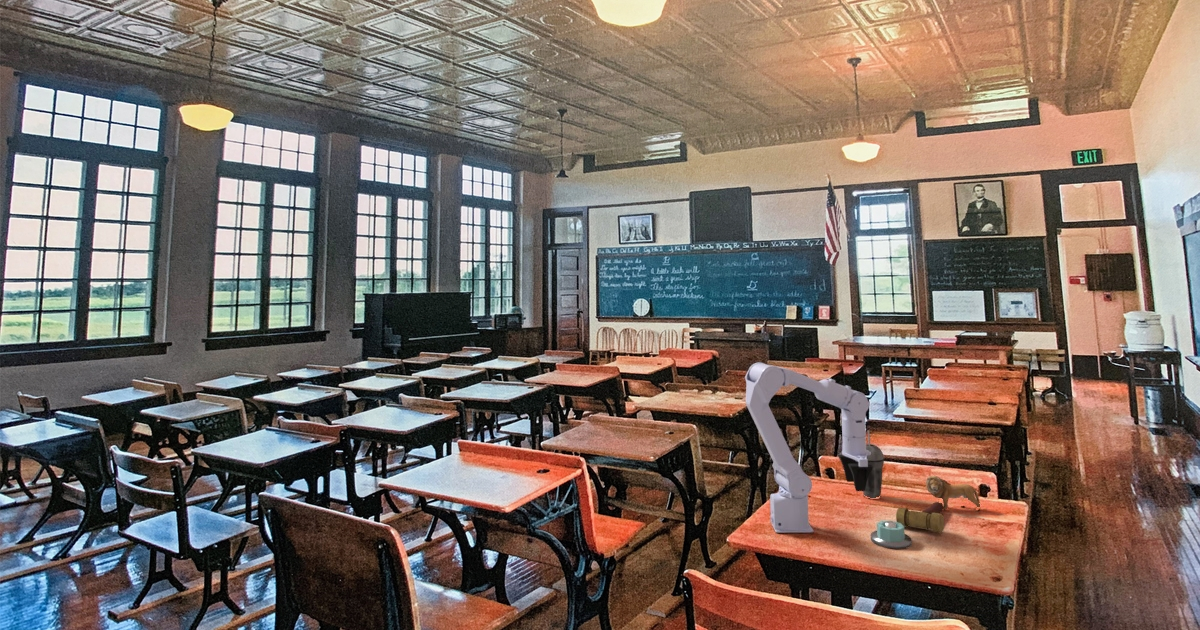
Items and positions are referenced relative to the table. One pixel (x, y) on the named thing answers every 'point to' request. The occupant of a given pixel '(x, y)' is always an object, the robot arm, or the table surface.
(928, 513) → the gavel
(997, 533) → the table surface
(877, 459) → the beverage cup
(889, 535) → the ring
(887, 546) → the grey peg stand
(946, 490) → the lion figurine
